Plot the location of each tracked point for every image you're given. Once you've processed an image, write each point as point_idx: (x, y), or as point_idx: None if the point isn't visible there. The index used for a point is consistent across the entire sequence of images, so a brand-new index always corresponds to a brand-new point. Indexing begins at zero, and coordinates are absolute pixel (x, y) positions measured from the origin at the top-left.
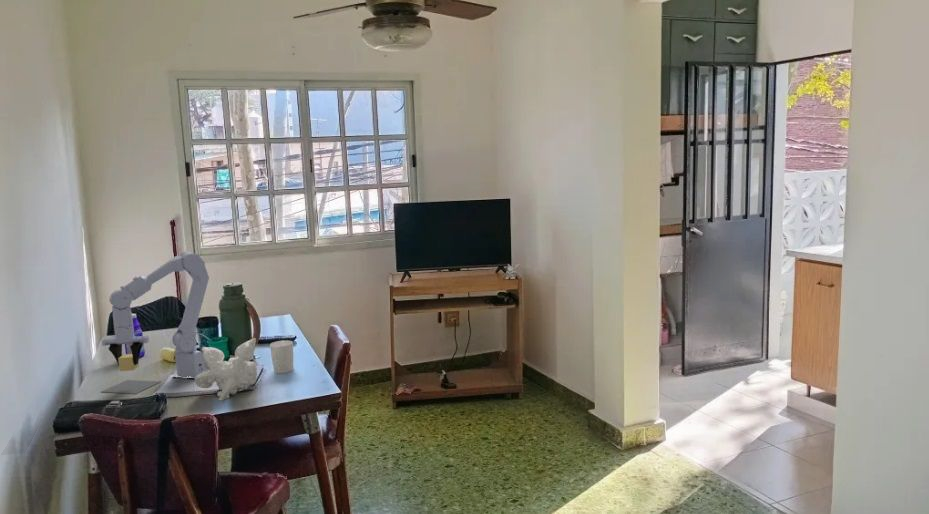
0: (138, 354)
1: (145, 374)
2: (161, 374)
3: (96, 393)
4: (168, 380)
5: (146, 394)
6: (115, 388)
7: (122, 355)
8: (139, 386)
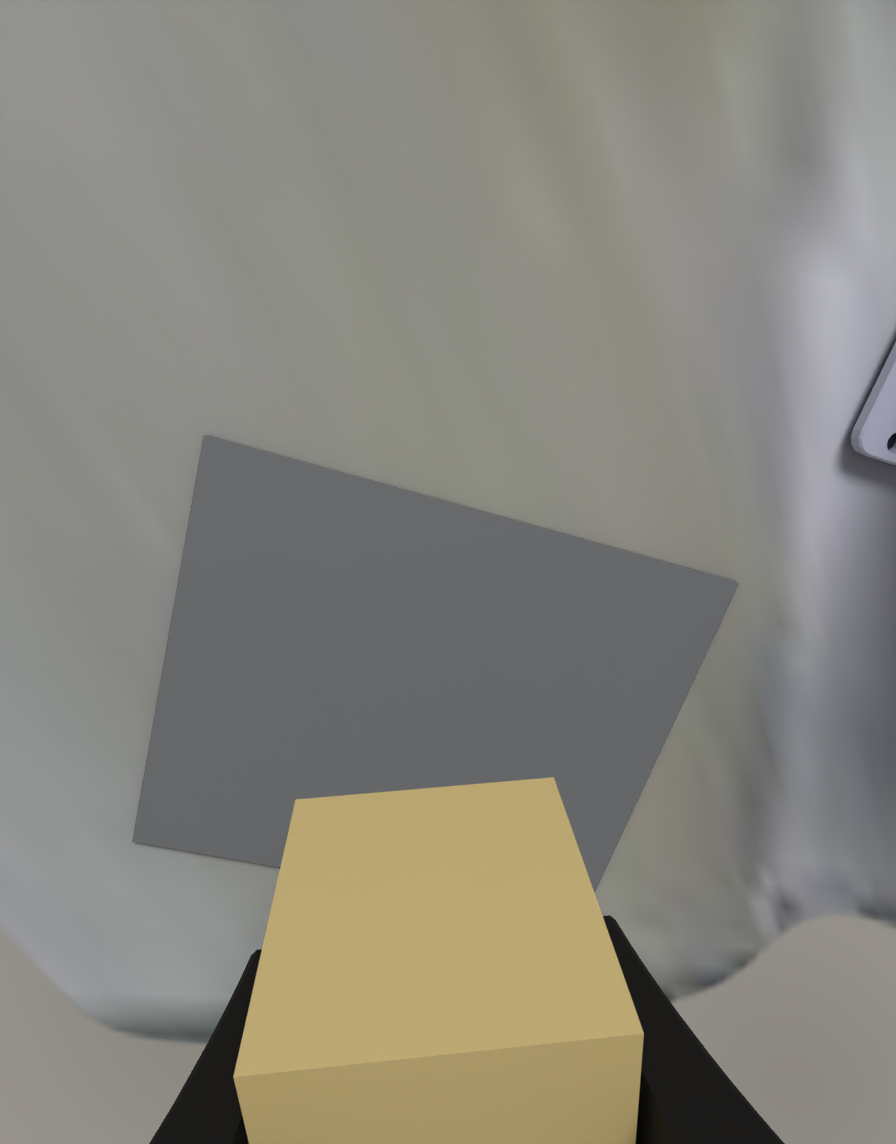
0: (717, 1112)
1: (348, 129)
2: (637, 195)
3: (105, 860)
4: (817, 527)
5: (692, 927)
6: (252, 760)
7: (251, 1142)
8: (529, 728)
